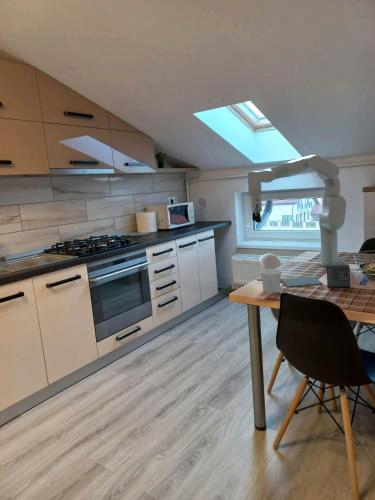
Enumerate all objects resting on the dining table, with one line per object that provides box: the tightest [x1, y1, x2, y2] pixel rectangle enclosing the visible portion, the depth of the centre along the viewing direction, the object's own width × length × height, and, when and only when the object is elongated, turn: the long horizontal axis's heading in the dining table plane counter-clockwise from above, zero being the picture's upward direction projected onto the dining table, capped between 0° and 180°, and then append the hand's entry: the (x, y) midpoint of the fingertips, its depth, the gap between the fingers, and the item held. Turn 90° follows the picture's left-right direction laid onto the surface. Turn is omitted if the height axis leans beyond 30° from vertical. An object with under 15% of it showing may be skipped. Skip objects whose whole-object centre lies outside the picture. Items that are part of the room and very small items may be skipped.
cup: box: [260, 268, 282, 294], centre depth 185 cm, size 10×10×10 cm
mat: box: [280, 275, 324, 288], centre depth 196 cm, size 18×14×1 cm
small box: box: [326, 264, 351, 289], centre depth 183 cm, size 11×6×10 cm, turn 71°
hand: (256, 221), depth 220 cm, fingers open, 9 cm apart
